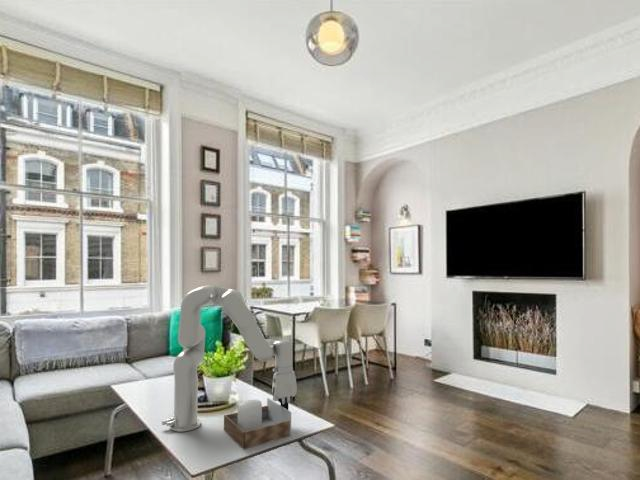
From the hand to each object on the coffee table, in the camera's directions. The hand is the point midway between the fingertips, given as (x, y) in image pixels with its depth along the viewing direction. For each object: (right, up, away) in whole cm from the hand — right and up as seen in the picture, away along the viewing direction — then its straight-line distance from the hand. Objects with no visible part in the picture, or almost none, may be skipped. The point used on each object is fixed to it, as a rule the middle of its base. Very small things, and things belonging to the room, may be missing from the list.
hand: (284, 412), depth 173 cm
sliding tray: (-11, -5, -8) cm, 15 cm away
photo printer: (-13, -4, -9) cm, 17 cm away
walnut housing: (-11, -5, -8) cm, 14 cm away
